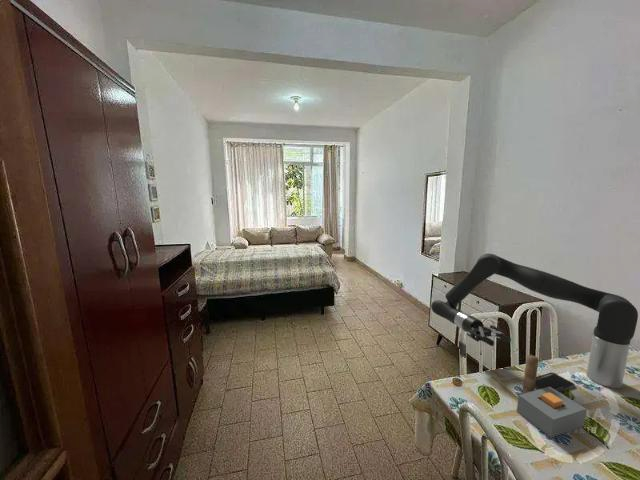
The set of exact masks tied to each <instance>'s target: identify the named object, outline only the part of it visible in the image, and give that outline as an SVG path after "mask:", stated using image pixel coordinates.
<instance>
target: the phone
mask: <svg viewBox="0 0 640 480" xmlns="http://www.w3.org/2000/svg"><path fill="white" fill-rule="evenodd" d="M546 387H551V388H553V389H555V390H556V391H558V392H559V393H562V392H565V391H568V390H572V389H573V388H575V387H576V385H575V383H573V382H572V381H570V380H568V379H566V378H564V377H563V376H560V375H558V374H557V373H555V372H549V373H545V374H542V375H538V376H536V382H535V390H539V389H543V388H546Z"/></svg>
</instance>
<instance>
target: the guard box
mask: <svg viewBox="0 0 640 480" xmlns="http://www.w3.org/2000/svg"><path fill="white" fill-rule="evenodd" d="M549 392H550V393H552V394H553V395H555V396H557V397H558V398H560V399H561V400H563V402H562V408H558V409H553V408H552V407H550V406H549V405H547V404H546V403H544V402H543V401H541V395H542V394H545V393H549ZM517 397H518V398H517V406H516V412H517V414H519V415H520V416H522V417H523V418H525V419H526V420H527V421H528V422H529V423H531V424H532V425H534V426H535V427H536V428H537V429H539V430H540V431H541V432H543V433H544V434H545V435H546V436H547V437H549V438H551V439H552V438H554V437H557V436H560V435H564V434H565V433H569V432H572V431H574V430H578V429H581V428H583V427H584V425H585V419H586V414H587V408H586V407H584V406H582V405H581V404H579V403H578V402H575V401H574V400H573V399H571V398H569V397H568V396H566V395H565V394H563V393H562V392H560V393H559V392H558V391H556V390H555V389H553V388H551V387H546V388H543V389H539V390H538V389H535V390H534V391H532V392H528V393H521V394H518V396H517Z"/></svg>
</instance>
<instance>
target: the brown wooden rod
mask: <svg viewBox="0 0 640 480" xmlns="http://www.w3.org/2000/svg"><path fill="white" fill-rule="evenodd" d="M538 367H539V357H538V356H535V355H533V354H527V355H526V360H525V368H524V376H523V383H522V391H521V392H522V394H524V393H528V392H532V391H535V390H536V388H535V382H536V377H537V373H538Z"/></svg>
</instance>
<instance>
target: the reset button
mask: <svg viewBox="0 0 640 480" xmlns="http://www.w3.org/2000/svg"><path fill="white" fill-rule="evenodd" d="M541 401H543V402H544V403H546V404H547V405H549V406H550V407H552V408H553V409H558V408H562V402H563V400H561V399H560V398H558V397H557V396H555V395H553V394H552V393H550V392H549V393H545V394H542V395H541Z"/></svg>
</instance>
